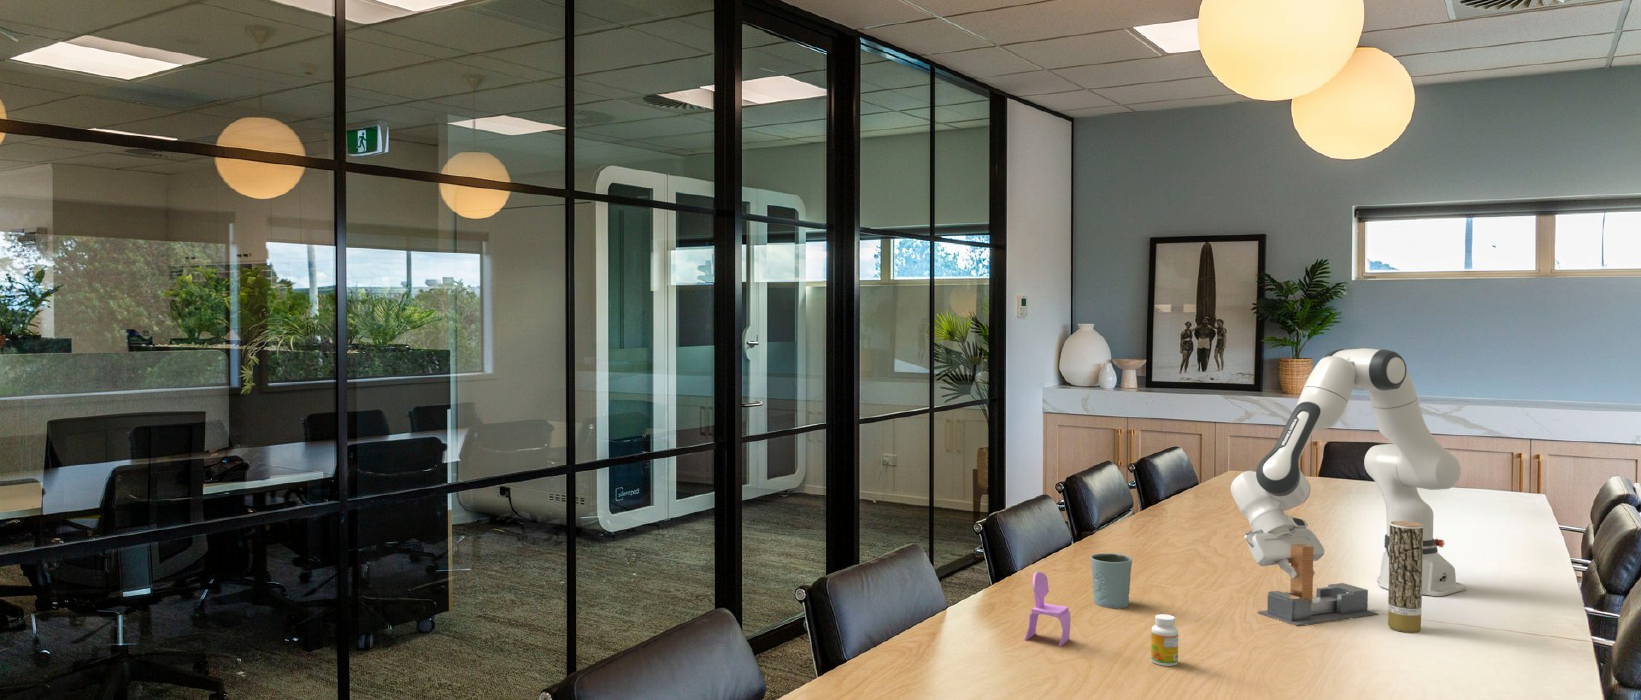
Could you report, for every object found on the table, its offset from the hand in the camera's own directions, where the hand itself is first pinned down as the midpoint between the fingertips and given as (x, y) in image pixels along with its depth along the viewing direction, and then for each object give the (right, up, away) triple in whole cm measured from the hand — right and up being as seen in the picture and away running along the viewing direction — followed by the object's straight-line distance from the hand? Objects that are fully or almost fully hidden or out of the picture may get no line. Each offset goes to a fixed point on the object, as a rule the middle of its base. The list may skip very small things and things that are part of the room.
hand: (1303, 576), depth 252 cm
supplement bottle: (-46, -11, -35) cm, 59 cm away
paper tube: (+19, -11, -10) cm, 24 cm away
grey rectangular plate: (+5, -10, +3) cm, 12 cm away
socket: (-4, -10, -1) cm, 11 cm away
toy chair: (-67, -10, -20) cm, 71 cm away
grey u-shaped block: (+12, -10, +6) cm, 17 cm away
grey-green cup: (-44, -10, +11) cm, 47 cm away
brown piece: (+3, -9, +2) cm, 10 cm away
